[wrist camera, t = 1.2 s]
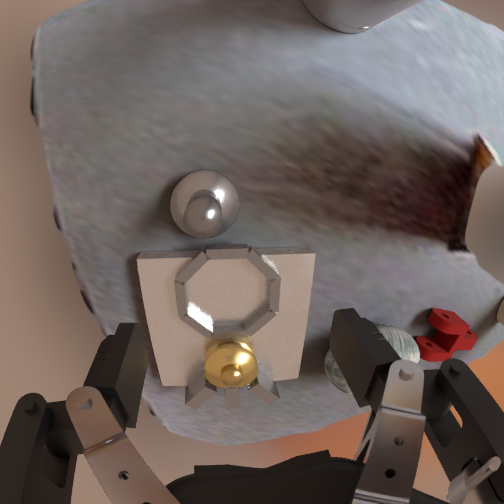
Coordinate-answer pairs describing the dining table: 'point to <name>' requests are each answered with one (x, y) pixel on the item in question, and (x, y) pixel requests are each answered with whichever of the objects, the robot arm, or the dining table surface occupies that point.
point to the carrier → (227, 317)
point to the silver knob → (204, 204)
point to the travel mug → (501, 313)
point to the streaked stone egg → (398, 341)
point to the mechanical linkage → (445, 336)
